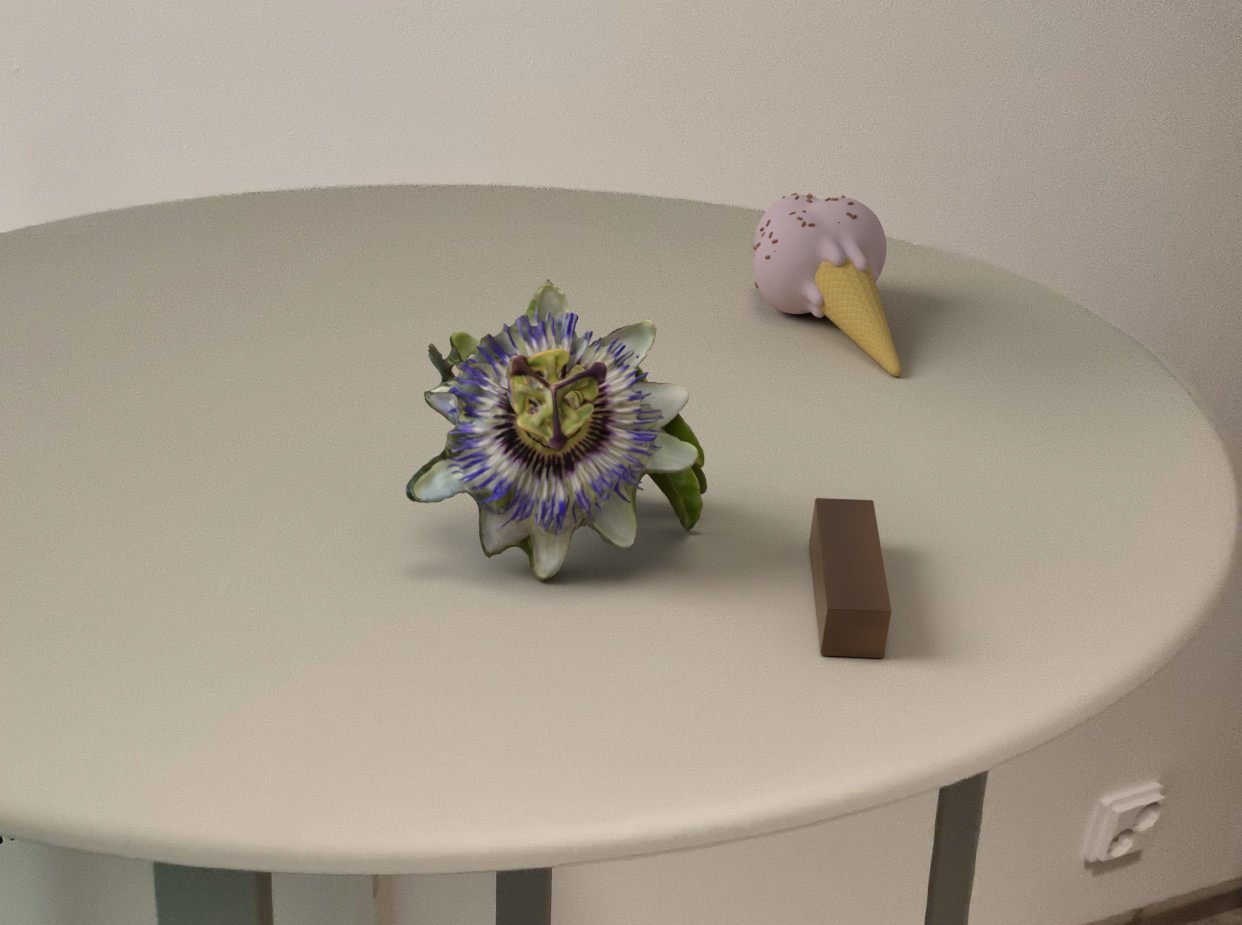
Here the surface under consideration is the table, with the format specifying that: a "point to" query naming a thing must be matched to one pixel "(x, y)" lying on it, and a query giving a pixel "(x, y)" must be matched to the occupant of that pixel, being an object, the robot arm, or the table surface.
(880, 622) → the rectangular block
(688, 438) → the passion flower
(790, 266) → the ice cream cone
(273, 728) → the table surface
